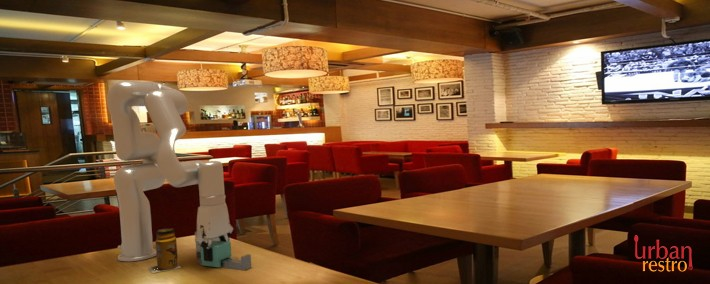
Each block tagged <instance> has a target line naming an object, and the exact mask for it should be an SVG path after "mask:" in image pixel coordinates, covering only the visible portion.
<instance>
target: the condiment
mask: <svg viewBox="0 0 710 284" xmlns="http://www.w3.org/2000/svg"><path fill="white" fill-rule="evenodd" d="M155 233H156V239H155V249H156V254H157V255H156V263H157V264H156V265H151V266H148V269H149V271H150V270H151V271H150V272H151V273H152V274H155V273H160V272H162V271H160V270H164V271H163V272H165V271H171V270H177V269H180V268H182V267H181V265H180V264H178V263H179V262H178V257H179V255H178V248H177V238H176V236H175V235H176V234H175V229H174V228H173V227H172V228H170V227H165V228H161V229H158V230H157V231H156V232H155ZM157 268H158V269H157ZM154 269H155V270H154ZM170 269H171V270H170ZM156 270H158V271H156Z"/></svg>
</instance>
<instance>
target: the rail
mask: <svg viewBox="0 0 710 284" xmlns="http://www.w3.org/2000/svg"><path fill="white" fill-rule="evenodd" d="M251 256H252V255H251V254H250V253H247V254H244V255H242V256H240V259H238V258H237V259H236V258H232V257H231V258H225V259H222V260H220V262H221V267H220V268H225V269H232V270H240V271H246V270H248V269H251V268H252V257H251ZM196 260H197V263H196V264H197V265H202V259H201V252H200V251H197V255H196ZM202 266H203V265H202Z"/></svg>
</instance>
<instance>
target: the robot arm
mask: <svg viewBox="0 0 710 284" xmlns="http://www.w3.org/2000/svg"><path fill="white" fill-rule="evenodd" d="M106 102H107V103H106V106H107V109H108V111H109V115H110V117H111V123H112V132H113V140H114V149H115V153H116V156H117V158H118V159H119V160H121V161H124V162H130V161H131V162H134V161H141V160H142V163H136V164H135V163H134V164H129V165H124V166H122V167H120V168H118V169H117V170H116V172H115V173H114V175H113V183H114V184H113V185H114V187H115V192H116V194H117V199H118V200H117V201H118V207H119V208H118V209H119V220H120V234H121V235H120V237H121V245H118V246H117V250H120V251H121V253H119V254H118V255H117V260H118V261H120V262H137V261H138V262H139V261H143V260H144V261H145V260H148V259H151V258H154V257H157V254H156V248H154V244H153V241H154V240H153V231H152V214H151V205H150V200H149V199H148V197H147V196H146V195H145V193H144V192H146V191H151V190H154V189H159V188H160V187H162V186H163V185H164V184H165V181H166V182H167V183H168V184H169V185H171V186H172V187H174V188H182V187H187V186H188V187H189V186H192V185H198V191H199V194H198V195H199V206H198V207H197V213H196V214H197V215H196V231H197V236H196V238H195V237H194V241H196V242H197V243H198V244H199V245H200V246H201V248H203V254H204V261H210V262H211V261H213V255H212V248H210V247H211V242H212V239H213V238H216V237H219V239H220V241H224V242H229V237H230V238H231V235H232V232H233V231H234V227H233V226H232V225H231V223H230V215H229V210H228V206H227V203H226V197H227V196H226V194H225V181H224V168H223V167H224V166H223V163H222V162H221V161H218V160H211V161H207V160H206V161H205V160H199V159H197V160H189V161H188V160H187V161H182V162H180V160H179V158H178V157H177V154H176V152H175V143H176V141H178V140H179V139H181V138H182V137H184V135H185V134H186V132H187V128H186V125H185V123H184V121H183V119H182V117H181V116H182V115H184V114H185V113H186V112H187V110H188V106H189V102H188V99H187V96H186V95H185V94H184V92H181V91H180V90H178V89H174V88H173V87H170V86H168V85H164V84H163V83H159V82H155V81H144V80H143V81H142V80H120V81H117V82H115V83H113V84H112V85H111V86H110V88H109V90H108V91H107V96H106ZM133 107H145V110H146V111H147V113H148V115H149V118H150V120H151V121H152V124H153V126H154V128H155V130H156V132H157V134H158V135H157V134H156V133H154V132H151V131H144V132H143V131H142V128H141V121H140V118H139V116H138V114H137V113H136V111H135V110H134V109H133ZM202 238H203V240H202ZM207 240H208V242H207V243H206V241H207ZM196 242H195V243H196Z"/></svg>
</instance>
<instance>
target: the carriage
mask: <svg viewBox="0 0 710 284" xmlns="http://www.w3.org/2000/svg"><path fill="white" fill-rule="evenodd" d="M231 243H232V242H231V241H230V242H224V241H212V242H211V247H210V248H212V255H213V261H211V262H210V261H204V254H203V248H201V246H200V252H201V259H202V266H207V267H213V268H222V267H221V262H220V260H222V259H225V258H231V259H232V246H231V245H232V244H231Z"/></svg>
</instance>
